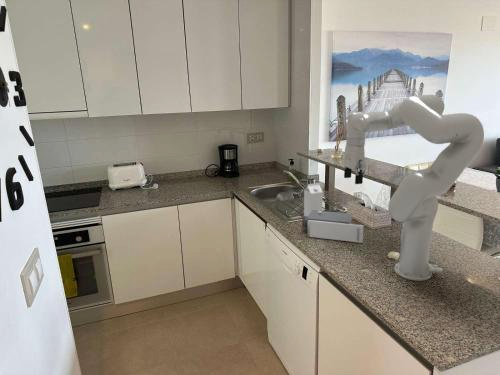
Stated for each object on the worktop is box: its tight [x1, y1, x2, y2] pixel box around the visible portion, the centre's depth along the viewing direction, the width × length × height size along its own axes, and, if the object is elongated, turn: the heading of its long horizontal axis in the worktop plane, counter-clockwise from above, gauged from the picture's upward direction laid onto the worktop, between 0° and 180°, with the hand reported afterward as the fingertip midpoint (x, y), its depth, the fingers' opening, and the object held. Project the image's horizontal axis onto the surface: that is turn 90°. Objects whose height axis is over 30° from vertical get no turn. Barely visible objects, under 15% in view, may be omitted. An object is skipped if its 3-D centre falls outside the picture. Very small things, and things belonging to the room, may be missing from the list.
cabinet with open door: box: [301, 210, 353, 237], centre depth 163 cm, size 22×12×10 cm, turn 69°
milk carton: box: [303, 182, 324, 217], centre depth 182 cm, size 7×7×19 cm
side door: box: [307, 220, 364, 244], centre depth 155 cm, size 25×2×8 cm, turn 69°
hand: (352, 180), depth 149 cm, fingers open, 9 cm apart
